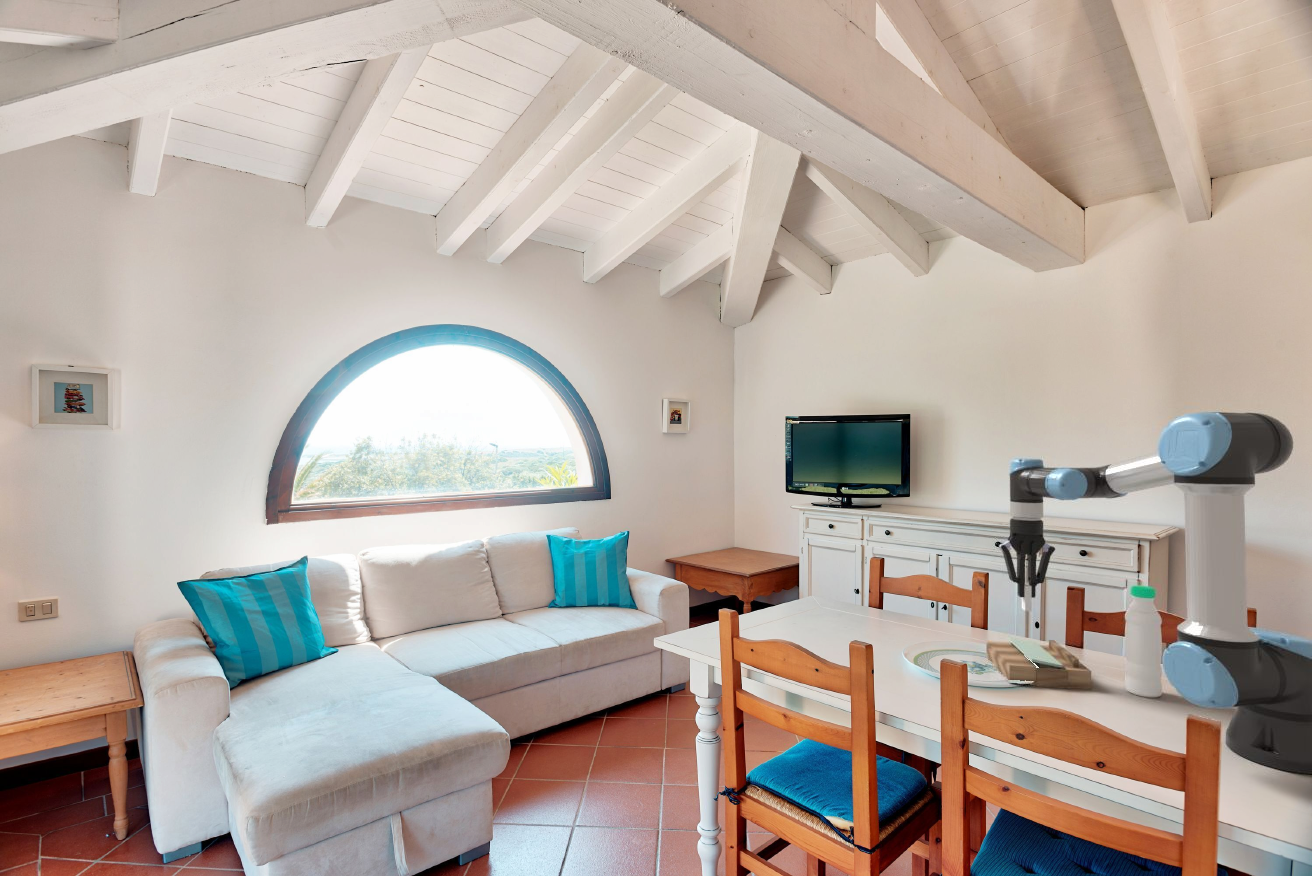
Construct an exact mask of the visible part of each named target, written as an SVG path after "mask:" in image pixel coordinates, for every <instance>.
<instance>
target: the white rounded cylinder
mask: <svg viewBox="0 0 1312 876" xmlns="http://www.w3.org/2000/svg"><path fill="white" fill-rule="evenodd" d="M1033 663H1035V664H1036V665H1037V666H1038V667H1039V668H1049V669H1057V668H1056V667H1055V666H1051V665H1047V664H1042V663H1037V662H1033Z"/></svg>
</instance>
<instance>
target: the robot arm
mask: <svg viewBox="0 0 1312 876" xmlns="http://www.w3.org/2000/svg"><path fill="white" fill-rule="evenodd" d="M1293 449H1294V440H1293V435H1292V433H1291V431H1290V430H1289V428H1288V427H1287V426H1286V425H1285V424H1284V423H1283V422H1282V421H1280V420H1279V419H1277V418H1274V417H1273V416H1270V415H1268V414H1263V413H1258V412H1225V411H1224V412H1222V411H1221V412H1220V411H1204V412H1194V413H1187V414H1183V415H1180V416H1178V417H1177V418H1176V417H1175V418H1174V419H1173V420H1172V421H1171V422H1170V423H1169V424H1168V425H1167V426H1166V427H1165V428H1164V429H1163V430H1162V432H1161V434H1160V436H1159V438H1158V442H1157V451H1156V452H1152V453H1148V454H1144V455H1141V456H1136V457H1133V458H1128V459H1124V460H1121V461H1117V462H1114V463H1110V464H1107V465H1103V466H1099V467H1098V466H1097V467H1045V466H1044V461H1043V460H1042V459H1040V458H1013V459H1012V460H1011V461H1010V464H1009V465H1010V466H1009V470H1010V471H1009V473H1008V475H1009V500H1010V501H1009V516H1010V517H1011V518H1010V519H1009V536H1008V538H1007V541H1005V542H1004V543H1000V544H998V548H999V550H1000V551H1001V552H1002V555H1003V558H1004V562H1005V567H1006V570H1007V574H1008V579H1009V580H1010V581H1011V582H1013V583H1015V584H1017V596H1018V597H1019V598H1021V609H1022V610H1023V611H1024V612H1032V599H1035V598H1036V593H1037V592H1036V588H1037V586H1038V585H1039V584H1044V582H1045V579H1046V575H1047V571H1048V567H1049V564H1050V560H1051V556H1052V555H1053V554H1054V552H1055V551H1056V547H1055V546H1052V545H1050V544H1048V543H1047V542H1046V539H1045V537H1044V521H1043V520H1042V519H1043V518H1044V498H1047V499H1054V500H1055V499H1056V500H1059V501H1076V500H1079V499H1116V498H1122V497H1125V496H1127V495H1128V494H1129V493H1133V492H1139V491H1144V490H1148V489H1153V488H1159V487H1165V486H1169V485H1174V486H1175V487H1177V488H1178V489H1179V490H1180V491H1182V492H1183V497H1184V498H1183V499H1184V500H1183V501H1184V535H1185V539H1184V540H1185V541H1184V543H1185V544H1184V545H1185V576H1186V577H1185V578H1186V579H1185V582H1186V589H1185V590H1186V619H1185V620H1184V621H1183V622H1181V623H1179V624H1177V627H1176V630H1177V631H1176V633H1177V634H1176V635H1177V641H1176V642H1173V643H1171V644H1169V646H1168V647H1167V648H1165V649H1164V651H1163V654H1162V657H1161V664H1162V670H1163V671H1164V674H1165V677H1166V678H1167V680H1168V682H1169V684H1170V685H1171V686H1172V687H1173V688H1174V689H1175V691H1176V692H1177V693H1178V694H1179V695H1180V697H1182V698H1184V699H1185V700H1186V701H1188V702H1190V704H1191V703H1192V704H1193V705H1196V706H1197V707H1202V708H1207V709H1223V710H1224V709H1232V708H1236V709H1235V711H1234V713H1233V715H1232V717H1231V719H1230V721H1229V722H1230V723H1228V726H1227V728H1226V731H1225V745H1226V746H1227V748H1229V750H1231V751H1232V752H1233V753H1235V754H1237V755H1239V756H1242V757H1243V758H1245V759H1247V760H1249V761H1253V762H1255V763H1257V764H1260V765H1264V766H1267V767H1270V768H1274V769H1278V770H1283V771H1287V772H1293V773H1297V774H1305V775H1312V640H1311V639H1308V638H1306V637H1305V638H1304V637H1302V636H1299V635H1298V636H1297V635H1294V634H1290V633H1286V632H1281V631H1277V630H1272V629H1264V628H1261V627H1252V626H1251V627H1250V626H1248V597H1247V594H1248V593H1247V590H1248V589H1247V557H1246V552H1247V551H1246V521H1245V520H1246V516H1245V514H1246V513H1245V510H1246V509H1245V495H1246V493H1247V492H1249V491H1250V490H1251V489H1252V488H1254V487H1256V475H1259V474H1264V473H1269V472H1271V471H1274V470H1277V469H1278V468H1280V467H1282V465H1284V464H1285V463H1286V462H1287V461H1288V460H1289V459H1290V457H1291V456H1292V453H1293ZM1011 547H1012V548H1011ZM1012 549H1013V550H1014V551H1015V553H1016V554H1015V555H1016V569H1015V566H1014V561H1013V558H1012V554H1011V550H1012ZM1041 550H1042V553H1041V557H1040V559H1039V564H1038V568H1037V559H1038V558H1037V557H1038V553H1039V551H1041ZM1026 558H1027V583H1026Z"/></svg>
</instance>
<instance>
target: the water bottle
mask: <svg viewBox="0 0 1312 876" xmlns="http://www.w3.org/2000/svg"><path fill="white" fill-rule="evenodd" d="M1130 595H1131V596H1130V597H1131V598H1132V602H1131V603H1130V604H1129V606H1128V608H1127V610H1126V611H1125V614H1124V620H1125V629H1124V651H1125V653H1124V655H1125V663H1124V671H1125V678H1124V688H1125V690H1126V691H1127V692H1128V693H1131V694H1132V695H1136V696H1140V697H1143V698H1154V699H1155V698H1158V697H1160V696H1161V695H1162V694H1163V686H1162V685H1163V684H1162V675H1163V671H1162V670H1163V667H1162V665H1161V664H1162V656H1163V654H1162V651H1163V650H1162V649H1163V643H1162V642H1163V641H1162V628H1161V627H1162V626H1161V625H1162V624H1163V621H1162V617H1161V615H1160V613H1159V612H1158V609H1157V607H1156V605H1155V604H1154V600H1155V599H1156V589H1155V588H1154V587H1151V586H1147V585H1131V587H1130Z"/></svg>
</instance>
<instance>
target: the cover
mask: <svg viewBox="0 0 1312 876" xmlns="http://www.w3.org/2000/svg"><path fill="white" fill-rule="evenodd" d="M1006 639H1007V640H1008V642H1010V643H1012V644H1013V645H1015V646H1016V647H1017V648H1018V649H1019V650H1020V651H1021V652H1022V653H1023V654H1024V655H1025V656H1026V657H1027V658H1028V659H1030V660H1031V661H1032V662H1037V663H1042V664H1047V665H1051V666H1056V667H1059V668H1061V669H1065V667H1064V666H1063V665H1062V664H1061V663H1060V662H1058V661H1057V660H1056V659H1055V658H1054V657H1052V656H1051V655H1050V654H1049V653H1048V652H1047V651H1045V650H1044V649H1043V648H1042V647H1041V646H1039V645H1040V644H1038V643H1037V642H1036V641H1031V640H1027V639H1021V638H1017V637H1012V636H1007V638H1006Z"/></svg>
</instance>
